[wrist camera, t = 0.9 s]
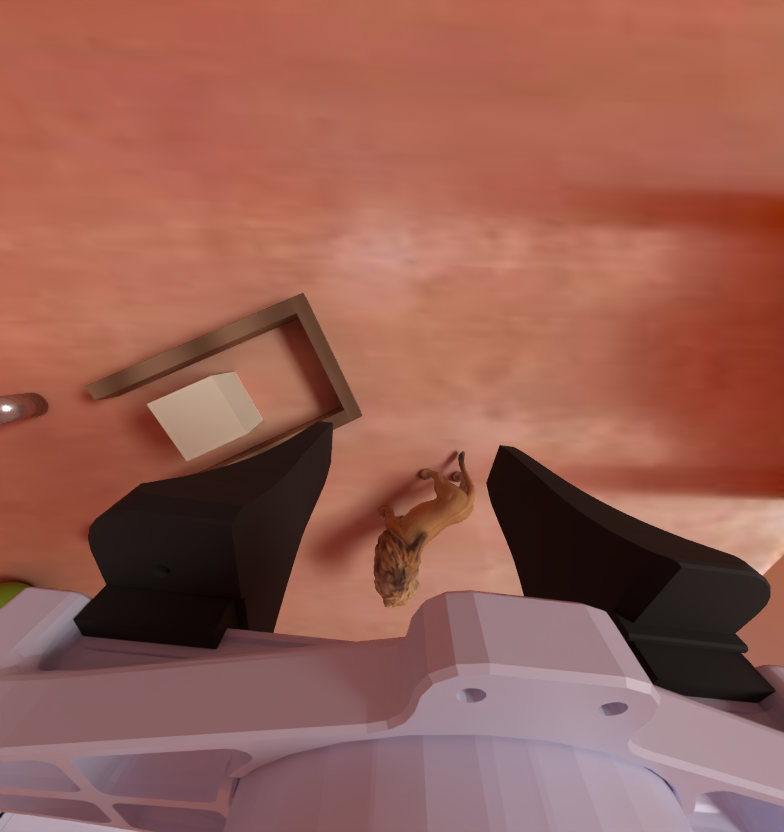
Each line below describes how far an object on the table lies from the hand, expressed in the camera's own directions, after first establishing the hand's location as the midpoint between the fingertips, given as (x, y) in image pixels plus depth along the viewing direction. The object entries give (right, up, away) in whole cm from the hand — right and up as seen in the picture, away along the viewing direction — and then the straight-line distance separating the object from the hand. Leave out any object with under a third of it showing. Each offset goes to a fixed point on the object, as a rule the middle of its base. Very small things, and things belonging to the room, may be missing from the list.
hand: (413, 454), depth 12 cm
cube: (-16, +2, +14) cm, 22 cm away
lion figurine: (+2, -8, +20) cm, 21 cm away
